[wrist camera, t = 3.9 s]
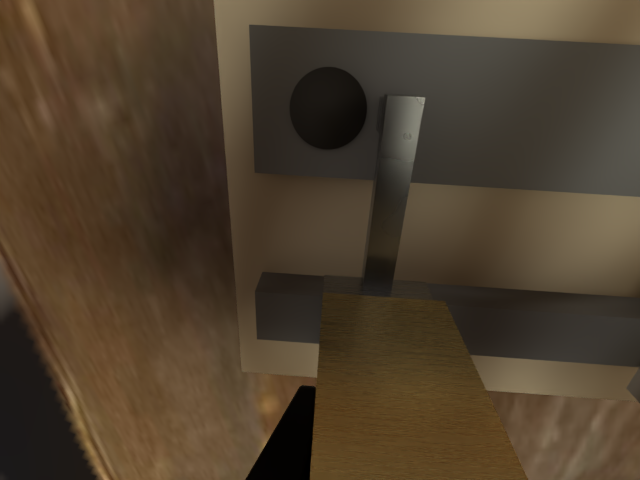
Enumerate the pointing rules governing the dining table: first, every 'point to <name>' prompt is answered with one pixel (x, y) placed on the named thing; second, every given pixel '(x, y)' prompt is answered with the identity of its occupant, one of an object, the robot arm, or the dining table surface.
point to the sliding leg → (399, 354)
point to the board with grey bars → (443, 176)
